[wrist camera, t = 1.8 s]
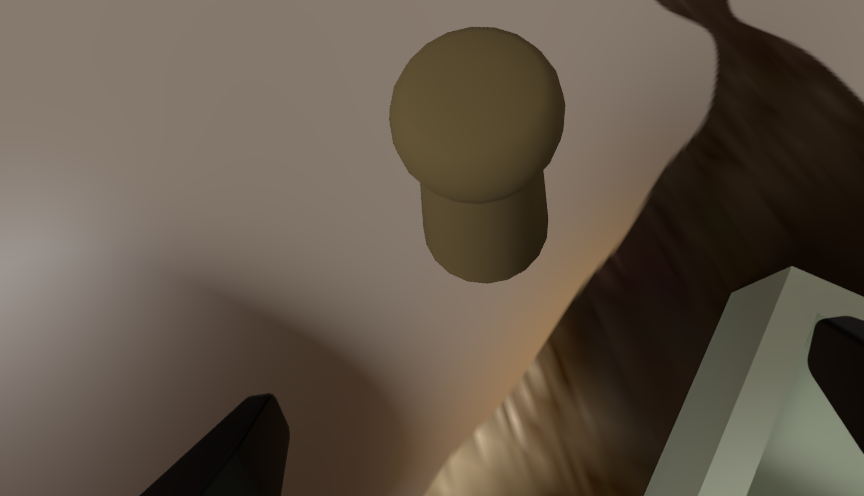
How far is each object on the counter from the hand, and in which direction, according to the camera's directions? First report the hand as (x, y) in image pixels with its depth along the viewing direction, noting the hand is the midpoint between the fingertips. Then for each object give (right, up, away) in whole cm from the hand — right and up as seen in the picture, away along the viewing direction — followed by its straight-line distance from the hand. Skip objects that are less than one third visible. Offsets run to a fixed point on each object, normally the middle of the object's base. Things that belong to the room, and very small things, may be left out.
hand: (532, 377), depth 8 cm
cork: (+1, +3, +15) cm, 16 cm away
